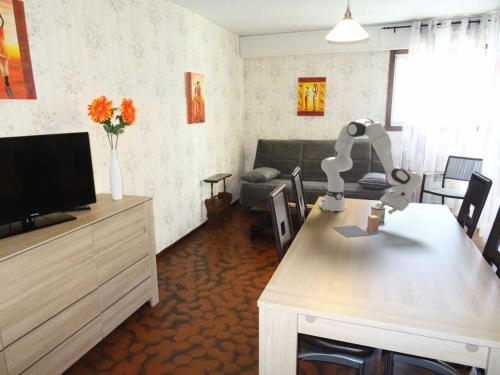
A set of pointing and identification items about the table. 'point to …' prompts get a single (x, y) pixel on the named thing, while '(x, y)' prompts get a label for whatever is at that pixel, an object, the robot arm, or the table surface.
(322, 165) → the robot arm
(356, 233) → the charcoal mat
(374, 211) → the teacup with lid
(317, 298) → the table surface
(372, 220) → the terracotta block
